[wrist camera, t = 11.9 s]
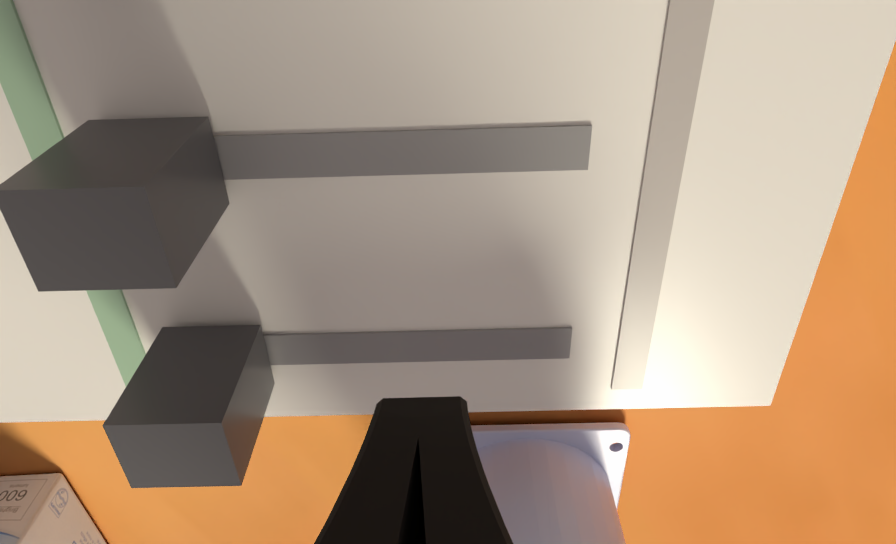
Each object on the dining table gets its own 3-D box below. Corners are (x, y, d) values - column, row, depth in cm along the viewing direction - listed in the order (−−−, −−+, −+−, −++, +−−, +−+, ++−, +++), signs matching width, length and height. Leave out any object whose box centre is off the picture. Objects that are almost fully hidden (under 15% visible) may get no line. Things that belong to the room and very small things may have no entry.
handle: (274, 383, 21) (241, 485, 17) (182, 385, 21) (131, 487, 17) (260, 324, 19) (221, 422, 16) (162, 326, 19) (102, 425, 16)
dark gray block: (229, 203, 17) (176, 288, 14) (118, 206, 17) (38, 291, 14) (208, 116, 16) (143, 186, 12) (88, 119, 16) (-9, 190, 12)
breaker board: (747, 366, 23) (771, 407, 21) (-11, 383, 24) (-47, 425, 22) (960, -344, 13) (1042, -376, 11) (-395, -292, 13) (-525, -315, 12)
